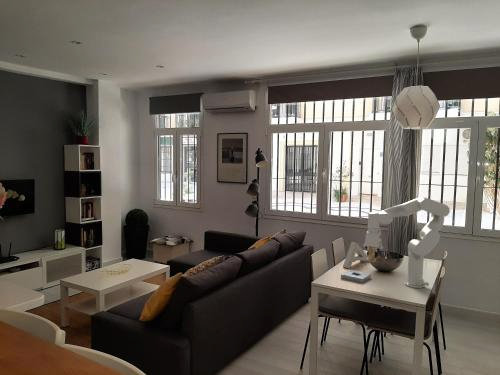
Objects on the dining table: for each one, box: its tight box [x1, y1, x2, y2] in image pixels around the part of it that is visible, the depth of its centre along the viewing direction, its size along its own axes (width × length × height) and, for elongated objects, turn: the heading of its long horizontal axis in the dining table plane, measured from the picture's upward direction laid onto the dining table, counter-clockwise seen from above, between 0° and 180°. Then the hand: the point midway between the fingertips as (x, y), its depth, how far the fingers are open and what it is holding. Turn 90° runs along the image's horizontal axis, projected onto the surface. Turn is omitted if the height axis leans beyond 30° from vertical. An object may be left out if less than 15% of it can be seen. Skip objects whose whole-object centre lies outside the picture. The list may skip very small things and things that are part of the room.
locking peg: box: [367, 247, 377, 263], centre depth 267 cm, size 4×4×10 cm
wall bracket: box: [342, 241, 369, 270], centre depth 319 cm, size 22×4×30 cm
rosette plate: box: [340, 269, 372, 284], centre depth 281 cm, size 16×16×3 cm
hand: (372, 256), depth 268 cm, fingers closed on locking peg, 4 cm apart
